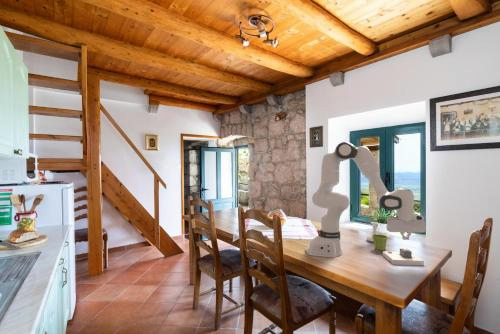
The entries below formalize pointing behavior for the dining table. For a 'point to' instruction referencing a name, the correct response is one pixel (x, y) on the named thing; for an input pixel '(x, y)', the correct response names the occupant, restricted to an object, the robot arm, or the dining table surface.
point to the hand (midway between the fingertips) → (405, 239)
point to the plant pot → (380, 241)
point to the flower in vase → (374, 224)
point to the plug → (405, 253)
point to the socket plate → (402, 259)
